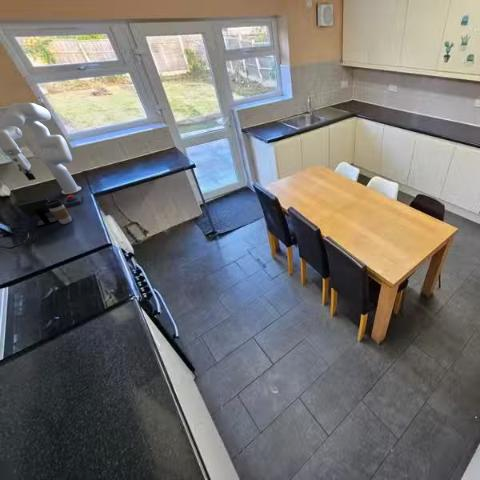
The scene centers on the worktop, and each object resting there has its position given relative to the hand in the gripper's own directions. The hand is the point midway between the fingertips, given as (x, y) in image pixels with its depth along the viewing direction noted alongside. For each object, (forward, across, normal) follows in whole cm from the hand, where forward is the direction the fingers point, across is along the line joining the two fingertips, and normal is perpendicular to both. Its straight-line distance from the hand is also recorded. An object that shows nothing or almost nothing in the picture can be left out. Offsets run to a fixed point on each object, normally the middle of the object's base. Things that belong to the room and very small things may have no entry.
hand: (32, 179), depth 175 cm
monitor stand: (+25, -13, +3) cm, 28 cm away
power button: (+21, +10, -10) cm, 25 cm away
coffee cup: (+25, -20, -7) cm, 33 cm away
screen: (+18, -12, +3) cm, 22 cm away
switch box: (+25, +10, -10) cm, 29 cm away
